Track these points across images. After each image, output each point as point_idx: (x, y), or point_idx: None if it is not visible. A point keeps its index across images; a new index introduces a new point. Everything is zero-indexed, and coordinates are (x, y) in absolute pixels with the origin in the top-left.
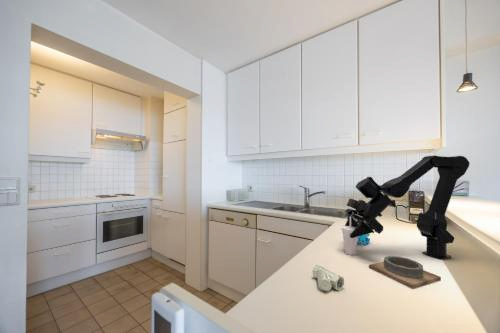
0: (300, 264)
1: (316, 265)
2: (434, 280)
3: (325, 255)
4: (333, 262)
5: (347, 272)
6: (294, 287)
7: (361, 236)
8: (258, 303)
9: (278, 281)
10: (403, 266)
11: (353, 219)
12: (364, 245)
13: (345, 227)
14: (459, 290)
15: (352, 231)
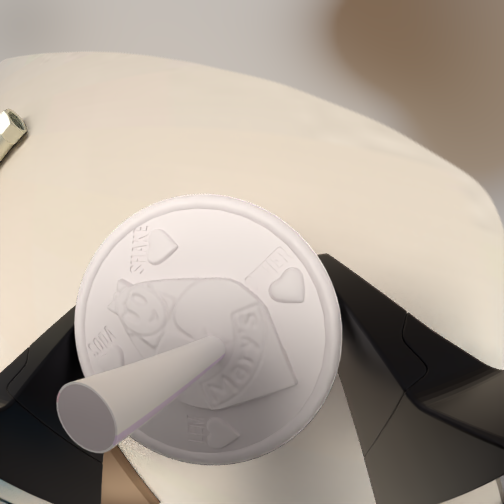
0: (93, 76)
1: (3, 112)
2: None
3: (176, 152)
4: (96, 182)
5: (28, 224)
6: (11, 97)
7: None
8: (2, 71)
9: (35, 66)
10: None
11: (425, 497)
12: None
13: (226, 263)
14: None
15: (85, 318)
